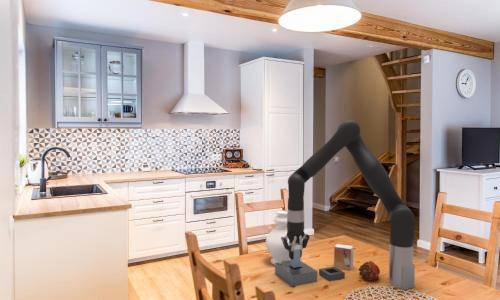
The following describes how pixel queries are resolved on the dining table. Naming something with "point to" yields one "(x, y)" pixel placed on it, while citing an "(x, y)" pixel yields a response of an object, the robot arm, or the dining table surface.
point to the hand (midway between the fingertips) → (295, 258)
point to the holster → (331, 273)
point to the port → (295, 273)
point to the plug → (296, 256)
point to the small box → (343, 256)
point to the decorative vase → (278, 239)
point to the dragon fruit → (369, 271)
